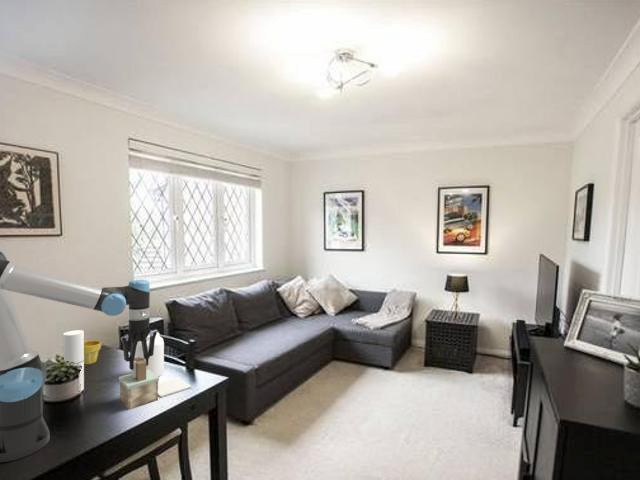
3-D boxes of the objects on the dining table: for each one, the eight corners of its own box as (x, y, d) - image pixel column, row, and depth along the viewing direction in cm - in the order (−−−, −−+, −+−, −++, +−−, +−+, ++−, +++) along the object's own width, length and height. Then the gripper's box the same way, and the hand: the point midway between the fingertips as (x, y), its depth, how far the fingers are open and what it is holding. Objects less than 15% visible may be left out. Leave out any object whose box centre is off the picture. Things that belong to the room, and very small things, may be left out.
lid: (127, 393, 133) (127, 368, 133) (118, 383, 142) (118, 359, 141) (158, 384, 142) (159, 360, 141) (148, 375, 150) (148, 353, 149)
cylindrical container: (73, 395, 144) (73, 335, 144) (59, 393, 146) (58, 334, 145) (87, 387, 151) (87, 330, 150) (74, 385, 153) (74, 329, 152)
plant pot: (105, 358, 184) (105, 340, 184) (91, 366, 174) (91, 347, 174) (87, 357, 185) (87, 339, 185) (71, 365, 175) (71, 346, 175)
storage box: (128, 409, 134) (128, 389, 134) (119, 399, 142) (119, 380, 142) (157, 400, 142) (158, 380, 142) (148, 390, 150) (148, 372, 149)
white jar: (148, 368, 173) (148, 328, 173) (169, 371, 170) (169, 331, 169) (128, 378, 161) (128, 335, 160) (150, 382, 158) (150, 338, 157)
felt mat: (160, 398, 144) (160, 396, 144) (149, 387, 153) (149, 385, 153) (191, 388, 153) (191, 386, 153) (178, 378, 162) (178, 377, 162)
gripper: (119, 323, 132) (119, 384, 133) (163, 316, 144) (162, 372, 144) (114, 319, 138) (114, 378, 138) (156, 313, 149) (155, 367, 150)
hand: (138, 375), depth 141 cm, fingers closed on lid, 3 cm apart
